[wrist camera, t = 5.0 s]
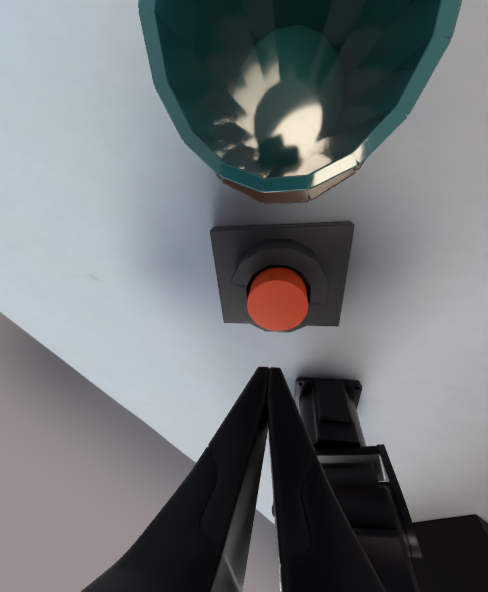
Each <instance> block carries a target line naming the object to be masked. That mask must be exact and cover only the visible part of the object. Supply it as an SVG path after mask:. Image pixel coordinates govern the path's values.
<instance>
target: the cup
mask: <svg viewBox="0 0 488 592" xmlns="http://www.w3.org/2000/svg"><path fill="white" fill-rule="evenodd" d="M461 2H462V0H138V8H139V16H140V21H141V25H142V30H143V35H144V40H145V45H146V49H147V54H148V59H149V64H150V68H151V73H152V78H153V83H154V86H155V89H156V91H157V93H158V95H159V97H160V98H161V100H162V102H163V104H164V106H165V108H166V110H167V112H168V114H169V116H170V118H171V120H172V121H173V123H174V125H175V127H176V129H177V131H178V133H179V135H180V137H181V139H182V140H183V141H184V143H185V144H186V145H187V146H188V147H189V148H190V149H191V150H192V151H193V152H194V153H195V154H196V155H197V156H199V157H200V158H201V159H202V160H203V161H204V162H205V163H206V164H207V165H208V166H209V167H210V168H211V169H212V170H213V171H214V172H215V173H217V174H218V175H219V176H221V177H222V178H224V179H227V180H230V181H232V182H235V183H238V184H240V185H243V186H246V187H248V188H251V189H254V190H256V191H259V192H264V193H270V192H285V191H300V190H309V189H312V188H314V187H316V186H318V185H320V184H322V183H324V182H327V181H329V180H331V179H333V178H335V177H337V176H339V175H341V174H343V173H345V172H347V171H349V170H351V169H353V168H355V167H357V166H358V165H359V164H361V163H362V162H363V161H364V160H365V159H366V158H367V157H368V156H369V155H370V154H371V153H372V152H373V151H374V150H375V149H376V148H377V147H378V146H379V145H380V144H381V143H382V142H383V141H384V140H385V139H386V138H387V137H388V136H389V135H390V134H391V133H392V132H393V131H394V130H395V129H396V128H397V127H398V126H399V125H400V124H401V123H402V122H403V121H404V120H405V119H406V118H407V116H408V115H409V114H410V112H411V111H412V109H413V107H414V105H415V104H416V102H417V100H418V98H419V96H420V95H421V93H422V91H423V89H424V88H425V86H426V84H427V82H428V80H429V79H430V77H431V75H432V73H433V72H434V70H435V68H436V66H437V65H438V63H439V61H440V59H441V57H442V56H443V54H444V52H445V50H446V49H447V47H448V45H449V43H450V41H451V38H452V36H453V33H454V29H455V25H456V21H457V18H458V14H459V10H460V6H461Z"/></svg>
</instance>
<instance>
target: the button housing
mask: <svg viewBox="0 0 488 592" xmlns="http://www.w3.org/2000/svg"><path fill="white" fill-rule="evenodd" d="M353 231H354V224H353V223H352V222H351V221H347V222H324V223H301V224H278V225H255V226H231V227H213V228H212V229H211V230H210V235H211V242H212V248H213V255H214V261H215V268H216V274H217V281H218V287H219V294H220V300H221V307H222V313H223V320H224V323H243V324H251V325H253V326H256V327H258V328H260V329H262V330H264V331H267V332H292V331H295V330H297V329H300V328H302V327H305V326H307V325H308V326H339V320H340V313H341V307H342V301H343V294H344V288H345V282H346V275H347V269H348V262H349V256H350V250H351V243H352V237H353ZM273 267H284V268H288V269H290V270H293V271H294V272H296V273H297V274H298V275H299V276H300V277H301V278H302V279H303V281H304V283H305V286H306V292H307V298H308V312H307V315H306V317H305V318H304V320H303V321H302V322H301V323H300V324H299V325H297V326H296V327H294V328H291V329H289V330H284V331H273V330H269V329H266V328H263V327H261V326H260V325H258V324H257V323H256V322H254V320H253V319H252V318H251V316H250V315H249V312H248V309H247V300H248V296H249V292H250V289H251V285H252V282H253V280H254V279H255V277H256V276H257V275H258V274H259V273H260V272H262V271H264V270H266V269H269V268H273Z"/></svg>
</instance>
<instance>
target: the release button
mask: <svg viewBox="0 0 488 592" xmlns="http://www.w3.org/2000/svg"><path fill="white" fill-rule="evenodd" d="M247 309H248V312H249V315H250V316H251V318H252V319H253V320H254V322H256V323H257V324H258V325H260V326H261V327H263V328H266V329H269V330H273V331H284V330H289V329H291V328H294V327H296V326H297V325H299V324H300V323H301V322H302V321H303V320H304V318H305V317H306V315H307V312H308V298H307V292H306V286H305V283H304V281H303V279H302V278H301V277H300V276H299V275H298V274H297V273H296V272H294V271H293V270H290V269H288V268H284V267H273V268H269V269H266V270H264V271H262V272H260V273H259V274H258V275H257V276H256V277H255V279H254V280H253V282H252V285H251V289H250V292H249V296H248V300H247Z"/></svg>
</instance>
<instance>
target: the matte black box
mask: <svg viewBox="0 0 488 592" xmlns="http://www.w3.org/2000/svg"><path fill="white" fill-rule="evenodd" d="M412 524H413V527H414V530H415V533H416V537H417V540H418V544H419V547H420V551H421V556H422V559H421V558H412V557H410V560H411V564H412V567H413V571H414V574H415V578H416V581H417V585H418V588H419V591H420V592H488V523H486V522H485V521H484V520H482V519H481V518H480V517H478V516H477V515H473V516H465V517H458V518H450V519H442V520H435V521H427V522H420V523H412Z"/></svg>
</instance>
